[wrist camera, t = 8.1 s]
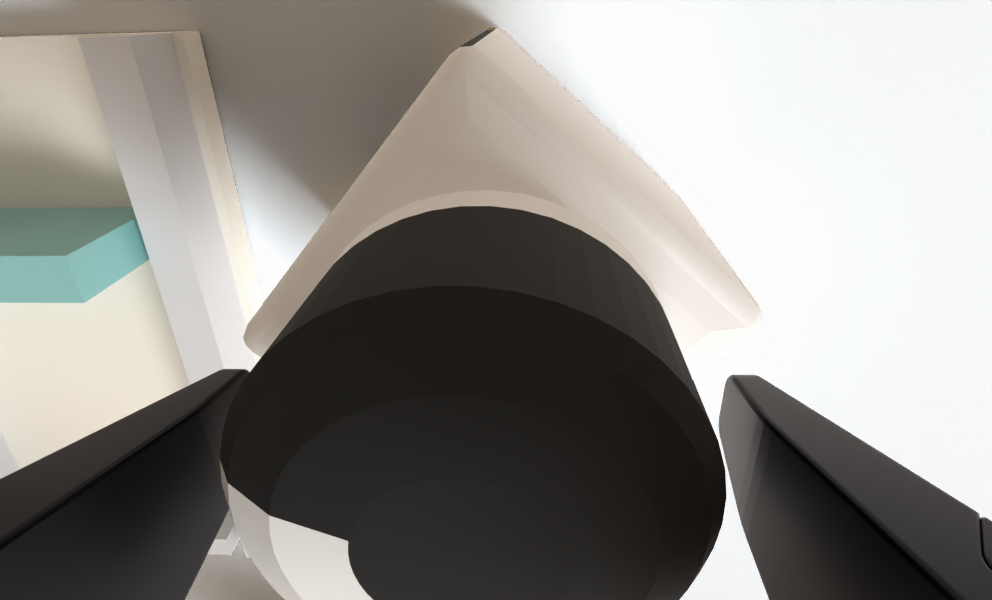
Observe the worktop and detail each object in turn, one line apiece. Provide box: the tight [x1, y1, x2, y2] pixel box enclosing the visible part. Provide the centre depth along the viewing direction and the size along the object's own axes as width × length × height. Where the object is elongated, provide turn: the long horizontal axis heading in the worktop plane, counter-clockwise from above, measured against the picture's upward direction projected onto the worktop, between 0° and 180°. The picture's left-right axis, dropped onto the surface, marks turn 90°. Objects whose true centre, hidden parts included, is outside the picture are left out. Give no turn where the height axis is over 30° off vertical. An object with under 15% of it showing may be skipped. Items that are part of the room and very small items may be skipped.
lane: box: [0, 31, 263, 558], centre depth 18 cm, size 17×12×2 cm
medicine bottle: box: [220, 28, 762, 600], centre depth 12 cm, size 7×7×12 cm
